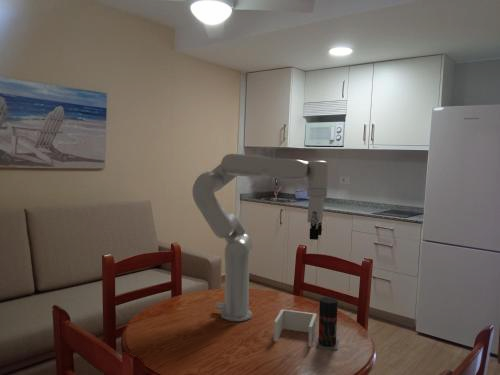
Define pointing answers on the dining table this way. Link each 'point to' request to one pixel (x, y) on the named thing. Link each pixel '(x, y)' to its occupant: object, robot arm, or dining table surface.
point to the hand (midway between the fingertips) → (315, 237)
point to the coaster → (328, 347)
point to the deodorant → (327, 321)
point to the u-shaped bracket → (295, 323)
